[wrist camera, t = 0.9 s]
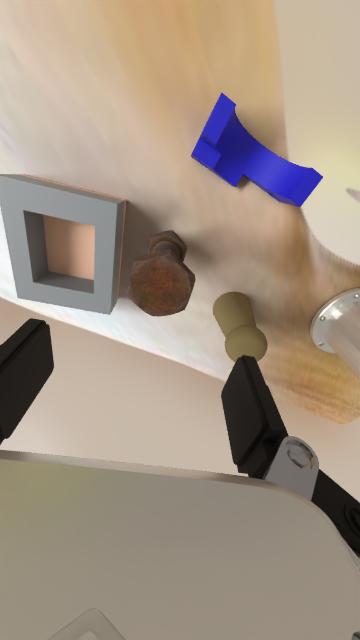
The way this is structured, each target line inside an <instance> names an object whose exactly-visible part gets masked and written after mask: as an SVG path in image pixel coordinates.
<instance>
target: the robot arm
mask: <svg viewBox="0 0 360 640" xmlns="http://www.w3.org/2000/svg"><path fill="white" fill-rule="evenodd" d="M310 335H311V339H312V340H313V342H314V343H315V345H316V346H317V347H318V348H320V349H321V350H323V351H325V352H328V353H333V354H337V355H338V356H339V357H340V358H341V359H342V361H343V362H344V363H345V364H346V365H347V366H348V367H349V369H350V370H351V371H352V372H353V373H354V374H355V375H356V376H357V378H358V379H359V380H360V288H355V289H352V290H348V291H345V292H343V293H341V294H339V295H337V296H335V297H334V298H332V299H331V300H329V301H328V302H327V303H326V304H324V305H323V306H322V307H321V308H320V309H319V311H318V312H317V313H316V315H315V316H314V318H313V320H312V323H311V327H310ZM53 368H54V362H53V353H52V345H51V336H50V327H49V325H48V324H46V322H45V321H44V320H38V319H32V318H31V319H29V320H28V321H27V322H25V323H24V324H23V325H22V326H21V327H20V328H19V329H18V330H17V331H16V332H15V333H14V334H13V335H12V336H11V337H10V338H8V339H7V341H5V342H4V343H3V344H2V345H0V444H1V443H2V441H3V440H4V439H5V438H6V439H7V438H9V437H10V436H11V434H12V433H13V431H14V430H15V428H16V427H17V425H18V424H19V422H20V421H21V419H22V417H23V416H24V415H25V413H26V411H27V410H28V408H29V407H30V405H31V404H32V402H33V401H34V399H35V398H36V396H37V394H38V393H39V391H40V390H41V389H42V387H43V385H44V384H45V382H46V381H47V379H48V378H49V376H50V375H51V373H52V371H53ZM221 398H222V404H223V409H224V414H225V420H226V425H227V431H228V436H229V441H230V446H231V452H232V458H233V462H234V464H235V465H237V468H238V472H239V473H246V474H248V476H249V477H245V476H237V475H229V474H222V473H215V472H206V471H197V470H188V469H179V468H171V467H162V466H153V465H144V464H134V463H125V462H116V461H107V460H97V459H88V458H78V457H68V456H58V455H49V454H39V453H30V452H18V451H6V450H0V640H360V503H359V502H358V501H357V500H356V499H354V498H353V497H352V496H351V495H350V494H349V493H347V492H346V491H345V490H344V489H343V488H341V487H340V486H339V485H338V484H337V483H335V482H334V481H333V480H332V479H331V478H329V477H328V476H327V475H326V474H325V473H324V472H322V471H321V470H320V469H319V462H318V458H317V456H316V454H315V452H314V451H313V450H312V448H311V447H310V446H309V445H308V444H307V443H305V442H304V441H303V440H301V439H299V438H297V437H294V436H289V435H288V433H287V431H286V428H285V426H284V423H283V421H282V419H281V416H280V414H279V411H278V409H277V407H276V404H275V402H274V399H273V397H272V395H271V392H270V390H269V388H268V386H267V385H266V383H265V381H264V378H263V376H262V373H261V371H260V369H259V366H258V364H257V361H256V359H255V357H253V356H247V355H242V356H241V357H238V359H237V361H236V363H235V365H234V367H233V369H232V371H231V373H230V375H229V377H228V379H227V382H226V384H225V386H224V388H223V390H222V394H221Z"/></svg>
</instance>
